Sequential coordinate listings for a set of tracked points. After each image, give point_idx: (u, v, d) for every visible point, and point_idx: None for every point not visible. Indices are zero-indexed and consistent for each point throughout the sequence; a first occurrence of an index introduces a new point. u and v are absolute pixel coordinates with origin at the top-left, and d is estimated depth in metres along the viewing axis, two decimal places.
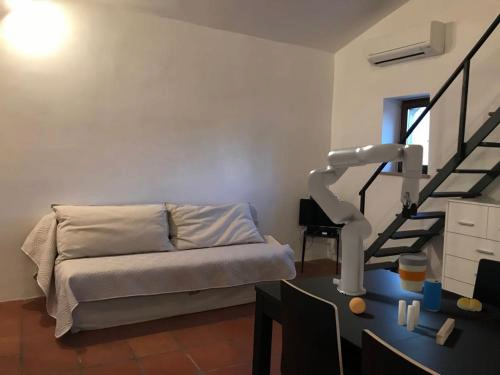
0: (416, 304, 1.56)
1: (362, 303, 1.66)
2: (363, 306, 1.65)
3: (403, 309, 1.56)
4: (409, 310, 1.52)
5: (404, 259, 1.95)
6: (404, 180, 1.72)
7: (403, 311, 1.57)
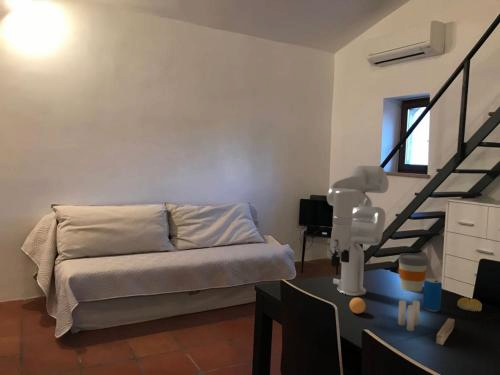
0: (416, 304, 1.56)
1: (362, 303, 1.66)
2: (363, 306, 1.65)
3: (403, 309, 1.56)
4: (409, 310, 1.52)
5: (404, 259, 1.95)
6: (334, 227, 1.68)
7: (403, 311, 1.57)
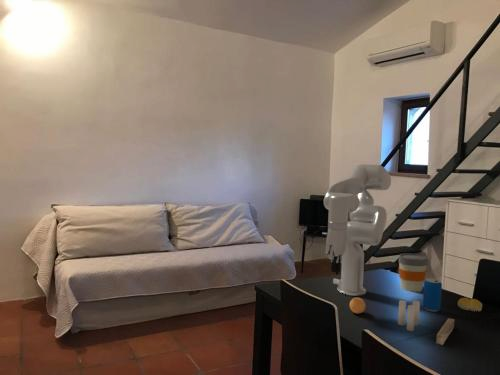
0: (416, 304, 1.56)
1: (362, 303, 1.66)
2: (363, 306, 1.65)
3: (403, 309, 1.56)
4: (409, 310, 1.52)
5: (404, 259, 1.95)
6: (329, 232, 1.68)
7: (403, 311, 1.57)
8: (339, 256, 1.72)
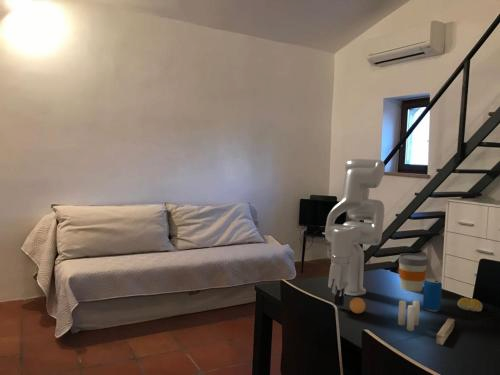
0: (416, 304, 1.56)
1: (362, 303, 1.66)
2: (363, 306, 1.65)
3: (403, 309, 1.56)
4: (409, 310, 1.52)
5: (404, 259, 1.95)
6: (331, 266, 1.68)
7: (403, 311, 1.57)
8: (342, 289, 1.72)
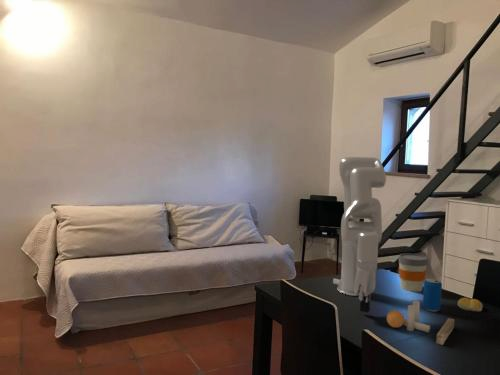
0: (416, 304, 1.56)
1: (390, 315, 1.54)
2: (393, 317, 1.53)
3: None
4: (409, 310, 1.52)
5: (404, 259, 1.95)
6: (358, 271, 1.62)
7: (418, 329, 1.53)
8: (368, 295, 1.66)
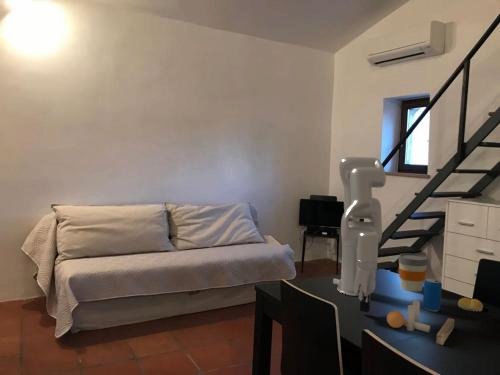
0: (416, 304, 1.56)
1: (390, 316, 1.54)
2: (393, 317, 1.53)
3: None
4: (409, 310, 1.52)
5: (404, 259, 1.95)
6: (358, 271, 1.62)
7: (418, 329, 1.53)
8: (368, 295, 1.66)
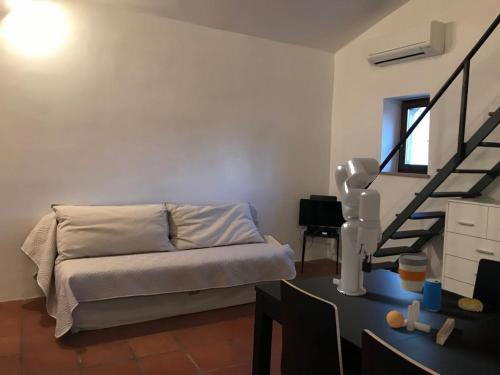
0: (416, 304, 1.56)
1: (390, 316, 1.54)
2: (393, 317, 1.53)
3: None
4: (409, 310, 1.52)
5: (404, 259, 1.95)
6: (360, 230, 1.61)
7: (418, 329, 1.53)
8: (370, 255, 1.64)
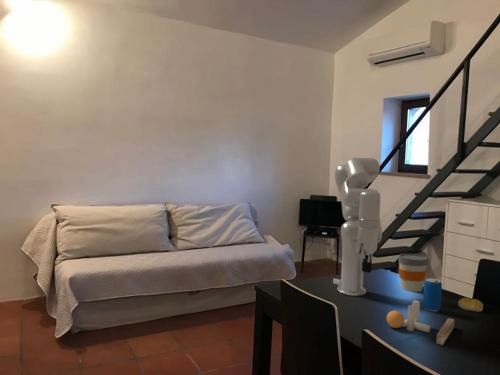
0: (416, 304, 1.56)
1: (390, 316, 1.54)
2: (393, 317, 1.53)
3: None
4: (409, 310, 1.52)
5: (404, 259, 1.95)
6: (360, 230, 1.61)
7: (418, 329, 1.53)
8: (370, 255, 1.64)
